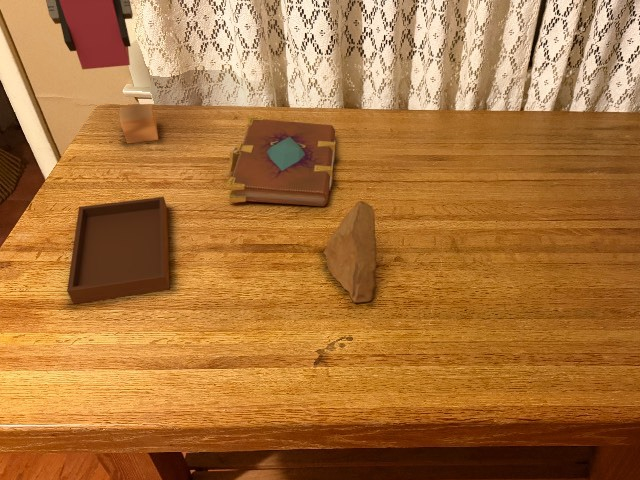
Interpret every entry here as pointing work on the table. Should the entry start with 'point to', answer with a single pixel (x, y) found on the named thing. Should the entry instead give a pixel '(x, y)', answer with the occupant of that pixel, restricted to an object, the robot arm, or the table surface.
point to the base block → (138, 123)
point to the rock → (354, 253)
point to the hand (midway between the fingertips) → (98, 44)
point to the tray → (120, 250)
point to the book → (283, 163)
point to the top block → (95, 33)
